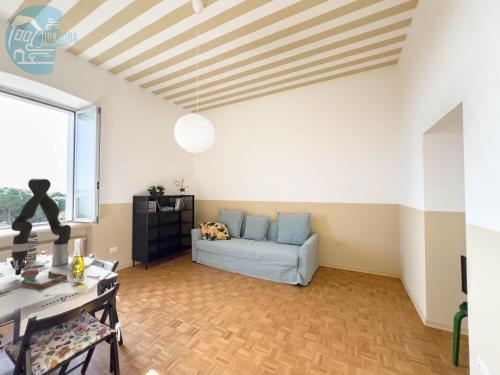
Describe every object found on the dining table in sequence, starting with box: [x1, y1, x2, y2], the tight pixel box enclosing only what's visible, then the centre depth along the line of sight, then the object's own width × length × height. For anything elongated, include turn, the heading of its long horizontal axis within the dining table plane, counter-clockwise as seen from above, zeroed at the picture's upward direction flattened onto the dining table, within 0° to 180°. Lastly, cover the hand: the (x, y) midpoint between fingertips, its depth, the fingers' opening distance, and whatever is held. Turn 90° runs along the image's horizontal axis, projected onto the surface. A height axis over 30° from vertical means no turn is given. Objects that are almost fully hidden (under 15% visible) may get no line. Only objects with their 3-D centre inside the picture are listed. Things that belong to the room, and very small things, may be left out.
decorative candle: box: [25, 230, 39, 264], centre depth 175 cm, size 9×9×25 cm
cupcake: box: [20, 262, 40, 282], centre depth 141 cm, size 9×8×12 cm
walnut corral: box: [21, 270, 68, 290], centre depth 138 cm, size 16×15×4 cm
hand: (18, 274), depth 143 cm, fingers closed
